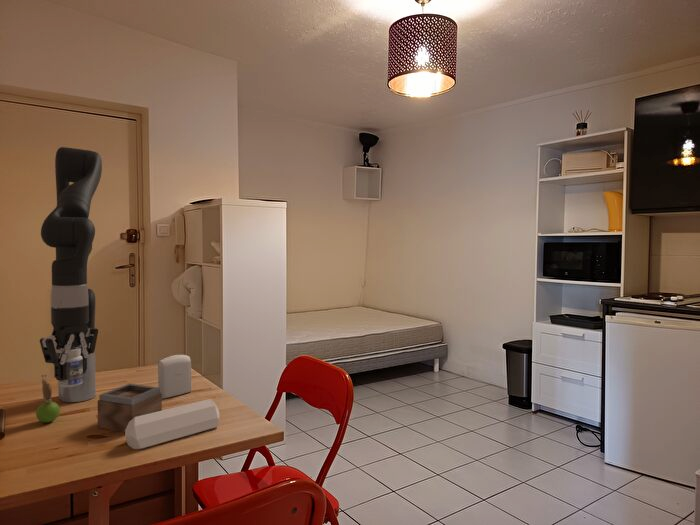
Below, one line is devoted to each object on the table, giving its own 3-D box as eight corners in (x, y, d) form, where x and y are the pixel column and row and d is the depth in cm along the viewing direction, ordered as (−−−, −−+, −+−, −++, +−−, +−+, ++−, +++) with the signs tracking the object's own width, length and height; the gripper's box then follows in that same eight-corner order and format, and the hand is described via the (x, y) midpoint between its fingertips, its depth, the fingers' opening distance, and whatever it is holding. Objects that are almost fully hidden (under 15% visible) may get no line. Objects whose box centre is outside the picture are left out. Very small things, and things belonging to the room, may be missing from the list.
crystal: (208, 403, 134) (117, 425, 118) (219, 396, 130) (126, 418, 113) (215, 430, 132) (122, 456, 116) (226, 423, 127) (132, 450, 111)
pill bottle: (72, 388, 110) (71, 351, 110) (54, 386, 111) (53, 350, 111) (87, 382, 115) (87, 347, 114) (70, 380, 116) (69, 345, 115)
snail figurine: (56, 415, 134) (55, 372, 133) (62, 422, 129) (61, 377, 128) (33, 420, 130) (32, 376, 129) (38, 427, 125) (37, 381, 125)
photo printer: (162, 400, 147) (162, 359, 147) (156, 396, 150) (155, 357, 150) (193, 392, 155) (193, 354, 154) (186, 389, 158) (186, 351, 157)
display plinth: (97, 427, 126) (97, 395, 126) (129, 412, 136) (129, 383, 136) (132, 433, 123) (131, 400, 122) (161, 418, 133) (161, 387, 132)
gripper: (83, 299, 120) (84, 367, 121) (28, 307, 106) (30, 383, 107) (107, 301, 117) (108, 370, 118) (54, 309, 104) (55, 387, 105)
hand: (71, 376), depth 113 cm, fingers closed on pill bottle, 4 cm apart
